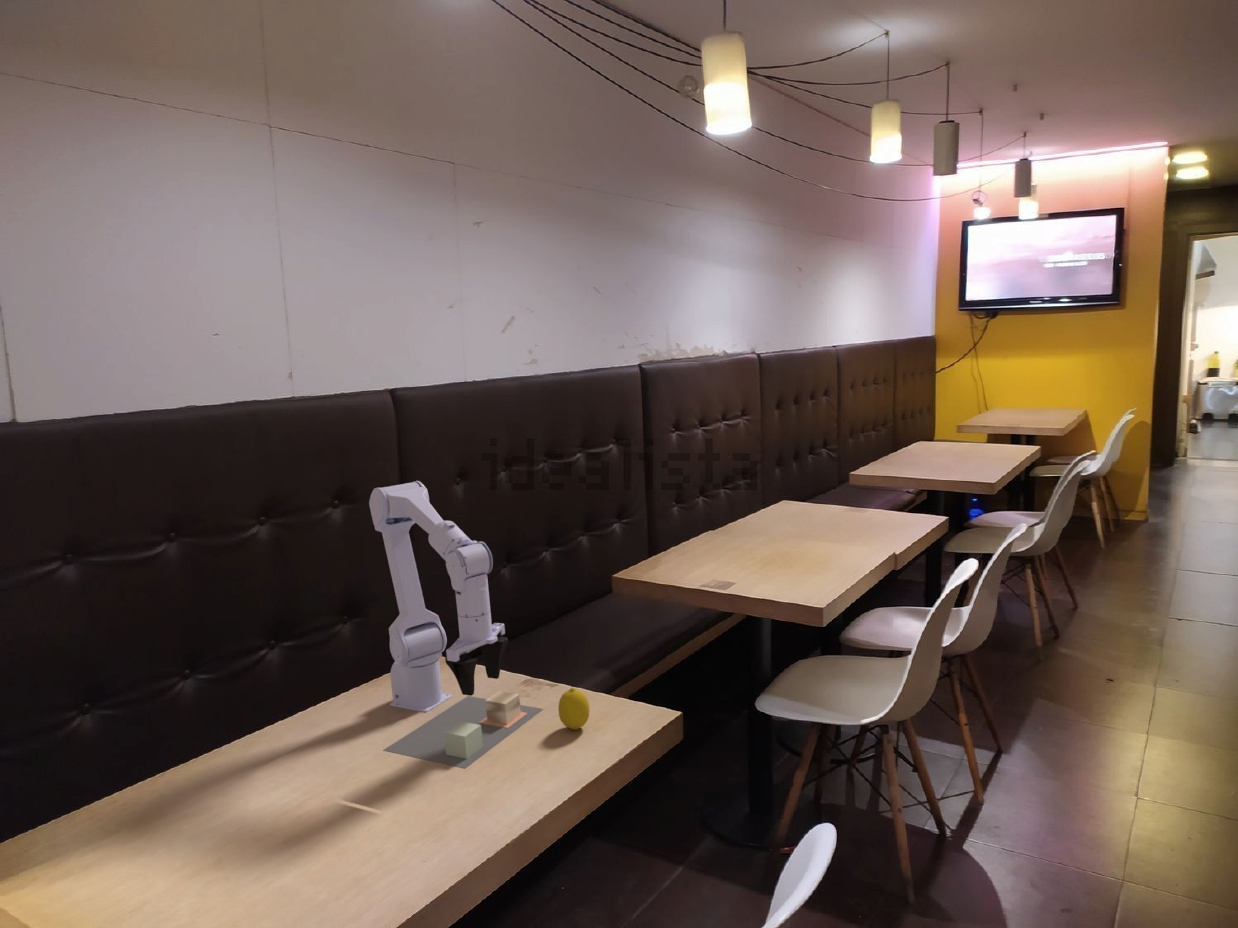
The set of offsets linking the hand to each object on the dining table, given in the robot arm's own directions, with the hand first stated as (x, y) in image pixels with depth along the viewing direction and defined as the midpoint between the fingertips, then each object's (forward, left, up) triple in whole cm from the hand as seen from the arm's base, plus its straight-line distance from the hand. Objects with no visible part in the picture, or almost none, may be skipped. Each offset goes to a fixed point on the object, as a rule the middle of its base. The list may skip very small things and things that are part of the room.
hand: (480, 685), depth 149 cm
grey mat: (-5, +1, -10) cm, 11 cm away
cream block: (-1, +7, -9) cm, 11 cm away
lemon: (+14, +8, -10) cm, 19 cm away
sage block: (0, -6, -9) cm, 11 cm away
